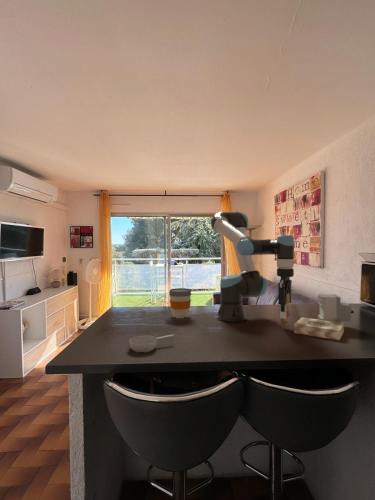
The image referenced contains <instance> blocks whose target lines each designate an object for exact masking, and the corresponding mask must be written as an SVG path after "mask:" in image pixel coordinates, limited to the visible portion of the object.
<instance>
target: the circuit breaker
mask: <svg viewBox="0 0 375 500" xmlns="http://www.w3.org/2000/svg"><path fill="white" fill-rule="evenodd" d="M317 303H318V306H319V314H317V319H318V320H326V321H333V322H341V323H342V322H348V323H349V322H350V323H351V321H352V314H354V310H352V305H350V303H349V304H348V303H347V302H343V301H341V297H340V296H339V295H337V294H332V293H331V294H330V293H329V294H324V293H323V294H322V293H320V294H319V293H318V294H317Z"/></svg>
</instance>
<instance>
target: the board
mask: <svg viewBox="0 0 375 500" xmlns="http://www.w3.org/2000/svg"><path fill="white" fill-rule="evenodd" d="M293 326H294V327H293V329H294V330H293V331H294V332H293V333H295V334H299V335H306V336H312V337H317V338H323V339H329V340H336V341H340V340H341V338H342V336H343V335H344V333H345V323H344V322H342V321H341V322H333V321H326V320H320V319H319V320H318V318H311V317H310V318H308V317H300V318H299V320H297V321H296V322H294V325H293Z"/></svg>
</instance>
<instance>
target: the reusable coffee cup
mask: <svg viewBox="0 0 375 500" xmlns="http://www.w3.org/2000/svg"><path fill="white" fill-rule="evenodd" d="M191 290H192V289H190V288H185V287H183V288H182V287H180V288H178V287H177V288H171V289H169V294H168V295H169V306H170V309H171V313H172V317H173V318H174V317H176V318H175V319H185V318H184V317H186V318H189V315H190V314H189V313H190V308H191V302H192V299H191V297H192V291H191Z"/></svg>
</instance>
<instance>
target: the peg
mask: <svg viewBox="0 0 375 500" xmlns="http://www.w3.org/2000/svg"><path fill="white" fill-rule="evenodd" d="M289 295H290V294H289V293H286V305H287V307H286V319H284V318H280V323H281V324H283V325H285V324H289V323H290V322H289V319H290V302H289Z"/></svg>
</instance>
